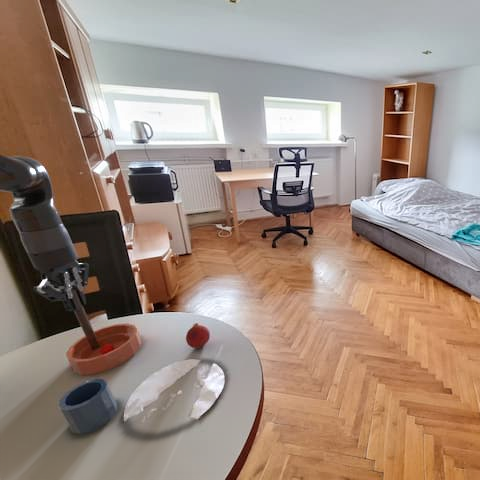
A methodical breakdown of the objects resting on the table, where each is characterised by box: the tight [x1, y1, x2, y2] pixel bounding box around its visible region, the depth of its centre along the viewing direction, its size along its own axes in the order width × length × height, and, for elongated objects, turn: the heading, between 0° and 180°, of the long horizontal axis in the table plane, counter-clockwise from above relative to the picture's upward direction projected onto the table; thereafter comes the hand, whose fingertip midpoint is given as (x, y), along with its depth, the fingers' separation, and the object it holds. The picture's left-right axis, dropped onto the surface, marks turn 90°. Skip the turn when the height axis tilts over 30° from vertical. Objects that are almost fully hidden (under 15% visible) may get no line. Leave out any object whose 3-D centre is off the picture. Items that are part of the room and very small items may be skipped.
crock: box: [57, 378, 118, 435], centre depth 60 cm, size 7×8×8 cm
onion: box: [185, 322, 211, 349], centre depth 80 cm, size 6×6×8 cm
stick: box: [71, 289, 100, 350], centre depth 74 cm, size 2×2×18 cm
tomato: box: [101, 344, 114, 355], centre depth 78 cm, size 3×3×3 cm
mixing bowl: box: [65, 323, 143, 376], centre depth 78 cm, size 15×15×5 cm
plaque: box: [123, 358, 226, 423], centre depth 67 cm, size 20×20×2 cm
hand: (77, 307), depth 73 cm, fingers closed on stick, 2 cm apart
